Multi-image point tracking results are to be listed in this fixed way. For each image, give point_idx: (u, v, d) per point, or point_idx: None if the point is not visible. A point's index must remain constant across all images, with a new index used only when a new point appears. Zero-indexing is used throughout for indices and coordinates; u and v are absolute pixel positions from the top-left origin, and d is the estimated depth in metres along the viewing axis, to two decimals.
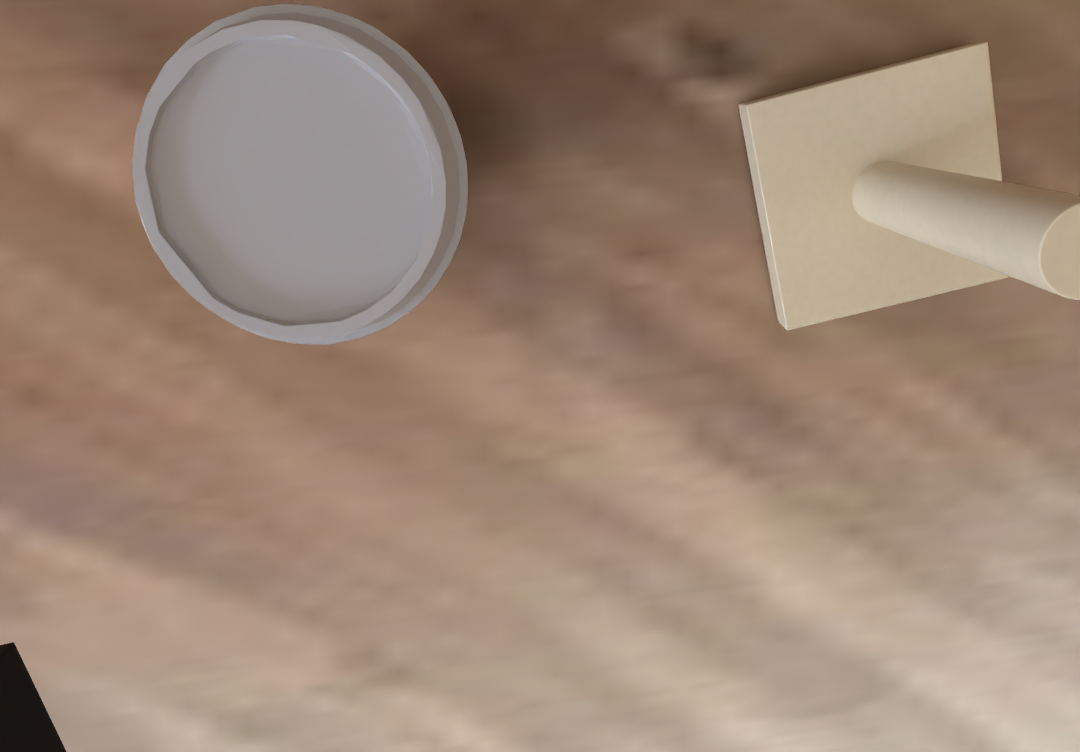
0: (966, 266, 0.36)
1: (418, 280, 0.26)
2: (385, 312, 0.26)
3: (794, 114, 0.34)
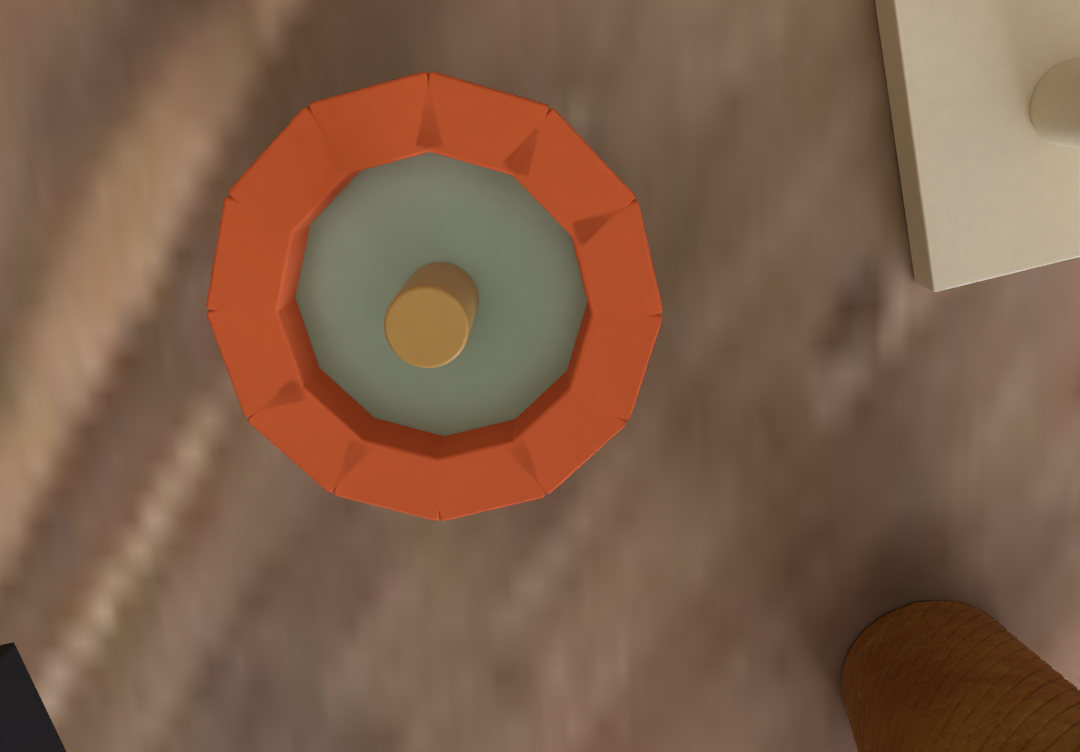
0: None
1: None
2: None
3: (953, 231, 0.27)
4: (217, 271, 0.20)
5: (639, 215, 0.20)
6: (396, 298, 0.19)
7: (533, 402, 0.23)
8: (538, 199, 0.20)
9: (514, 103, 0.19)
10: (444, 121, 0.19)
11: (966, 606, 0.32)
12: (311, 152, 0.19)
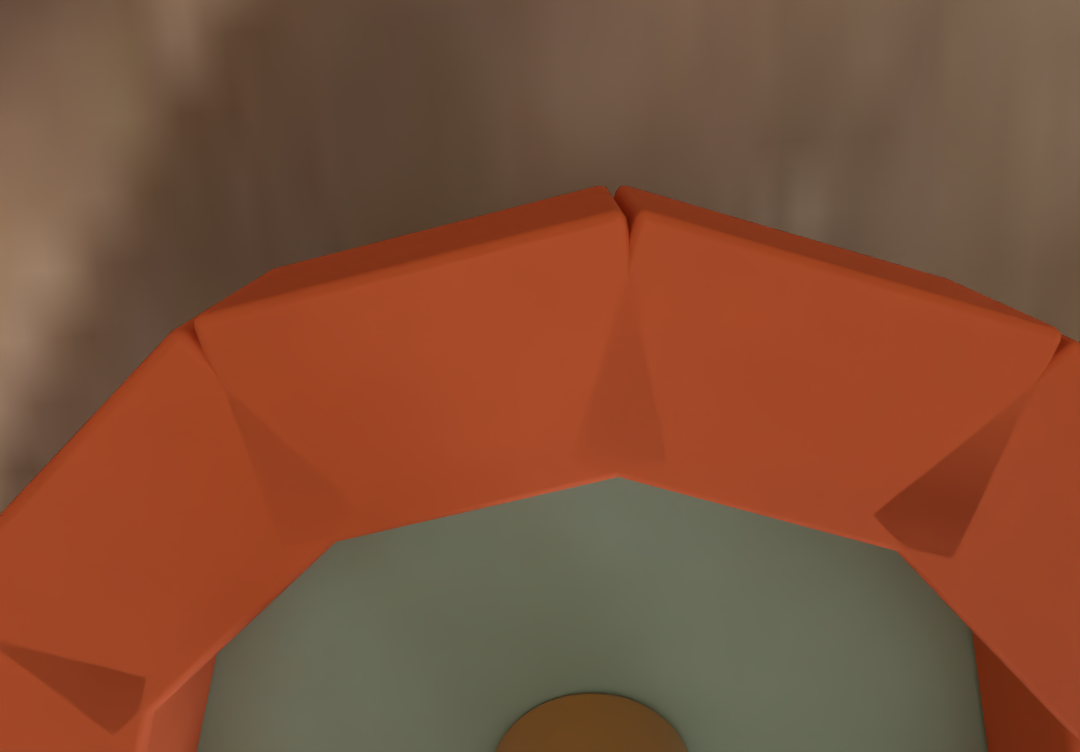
0: None
1: None
2: None
3: None
4: None
5: None
6: None
7: None
8: (979, 629, 0.06)
9: (938, 322, 0.05)
10: (679, 382, 0.05)
11: None
12: (203, 477, 0.06)
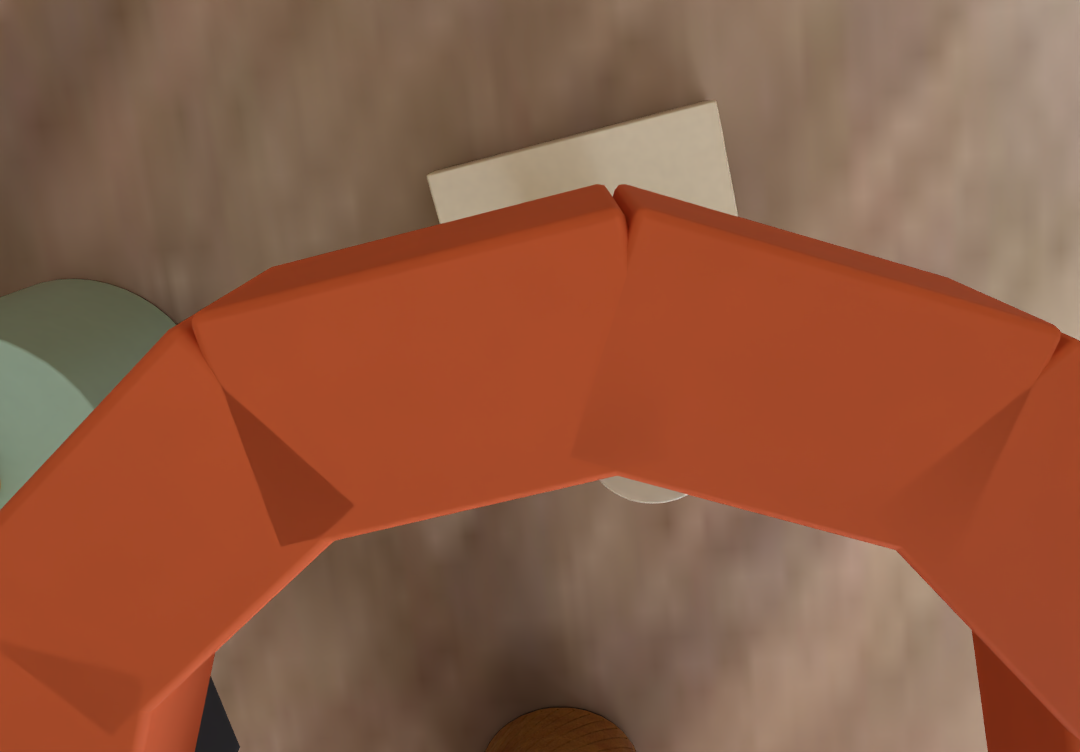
0: (699, 164, 0.28)
1: None
2: None
3: None
4: None
5: None
6: None
7: None
8: (979, 628, 0.06)
9: (937, 320, 0.05)
10: (678, 380, 0.05)
11: (585, 713, 0.35)
12: (201, 476, 0.06)
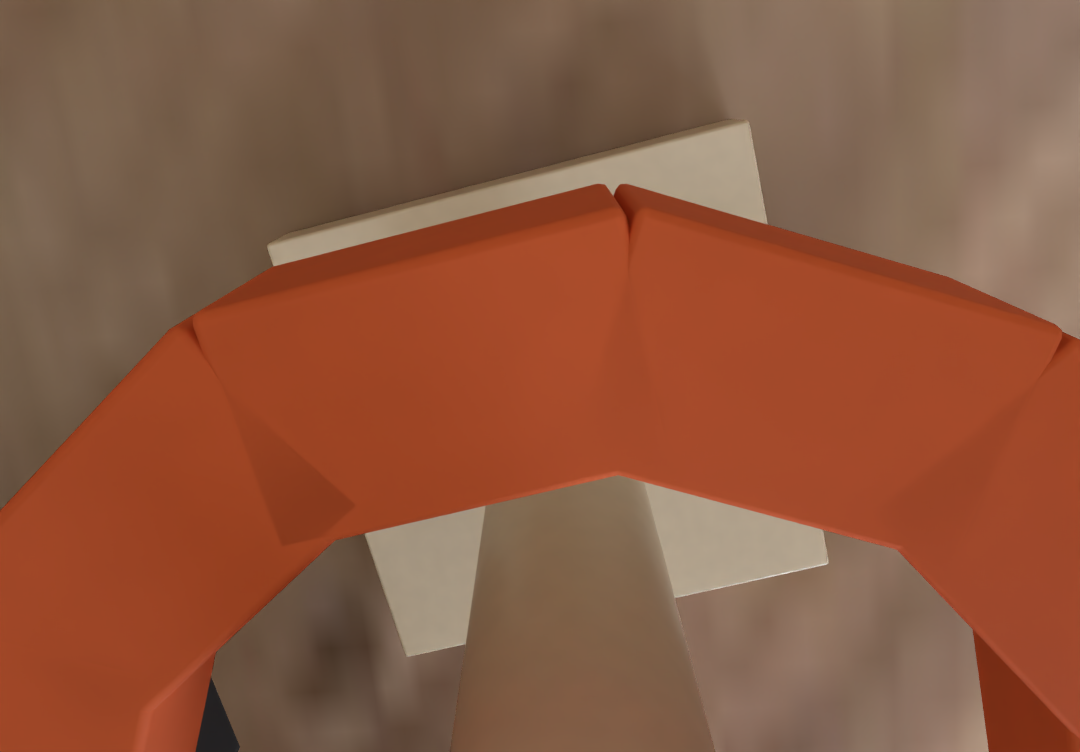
0: None
1: None
2: None
3: (418, 580, 0.19)
4: None
5: None
6: None
7: None
8: (981, 628, 0.06)
9: (939, 319, 0.05)
10: (679, 380, 0.05)
11: None
12: (201, 476, 0.06)
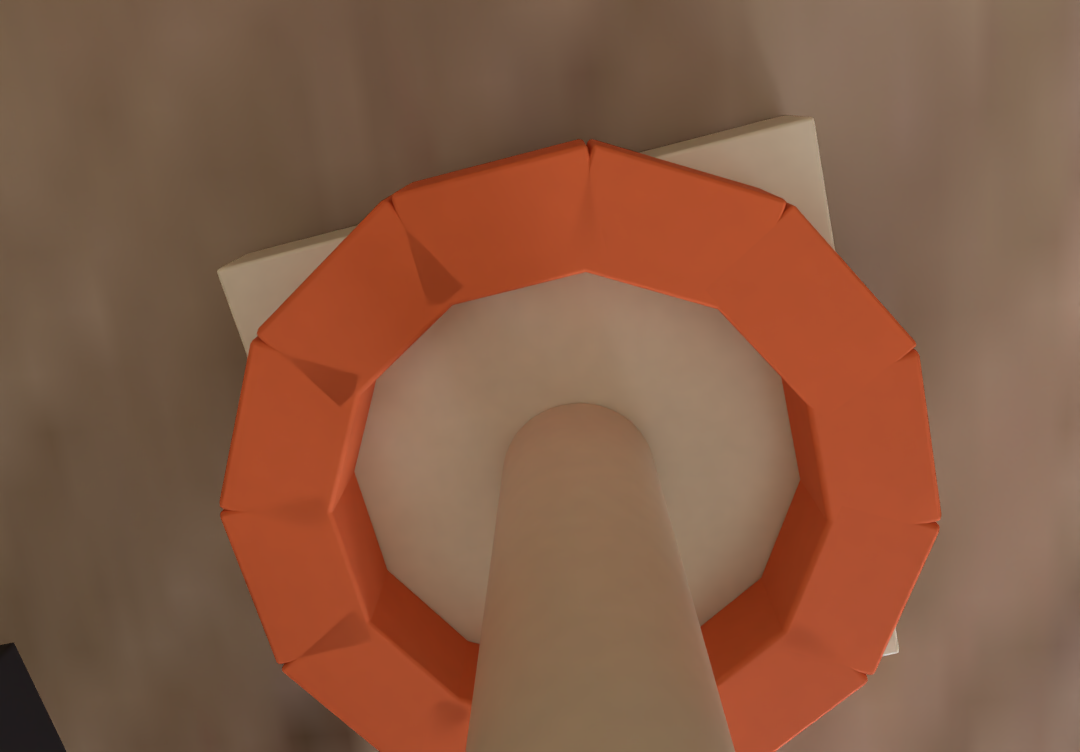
0: None
1: None
2: None
3: None
4: (237, 453, 0.13)
5: (920, 373, 0.12)
6: None
7: (707, 623, 0.15)
8: (758, 348, 0.12)
9: (729, 196, 0.12)
10: (613, 224, 0.12)
11: None
12: (392, 272, 0.12)
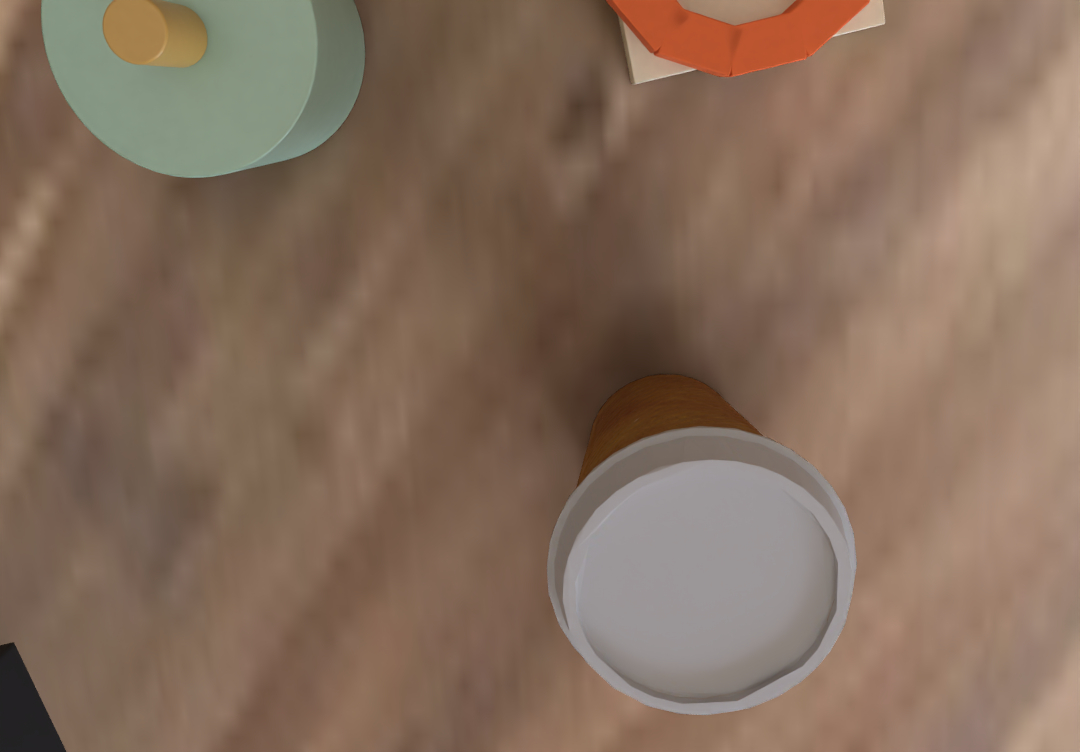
0: None
1: (805, 489, 0.26)
2: (834, 521, 0.26)
3: None
4: None
5: None
6: (110, 4, 0.25)
7: None
8: None
9: None
10: None
11: (691, 379, 0.37)
12: None
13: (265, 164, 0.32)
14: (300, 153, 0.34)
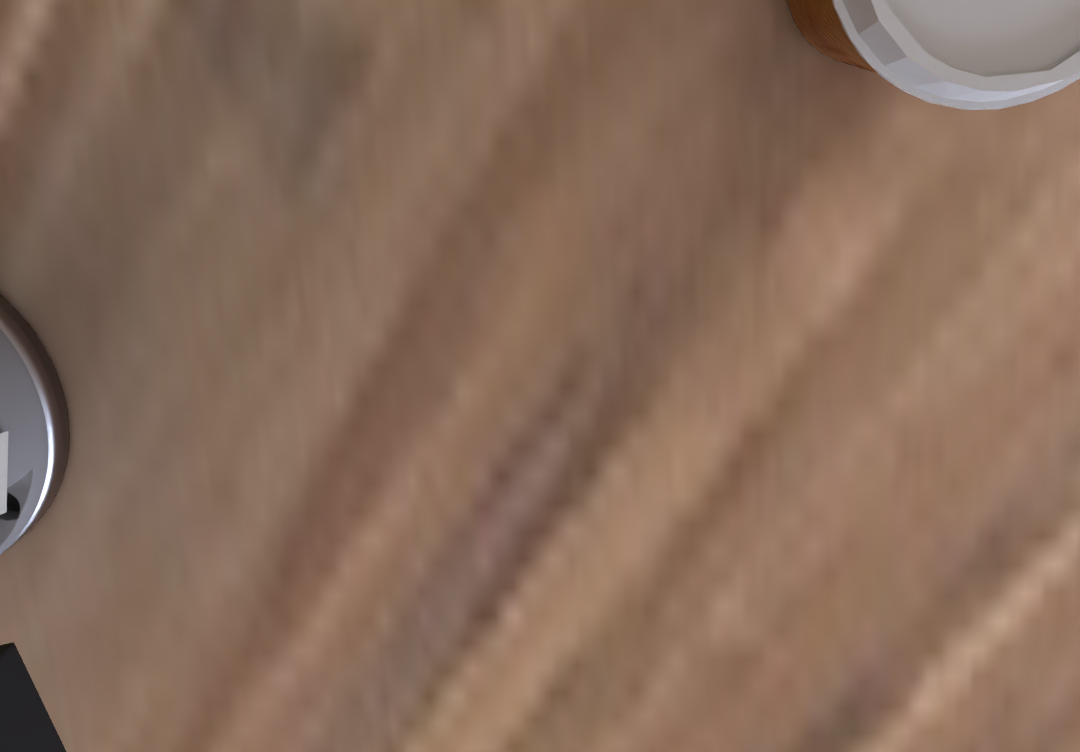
0: None
1: None
2: None
3: None
4: None
5: None
6: None
7: None
8: None
9: None
10: None
11: None
12: None
13: None
14: None
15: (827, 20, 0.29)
